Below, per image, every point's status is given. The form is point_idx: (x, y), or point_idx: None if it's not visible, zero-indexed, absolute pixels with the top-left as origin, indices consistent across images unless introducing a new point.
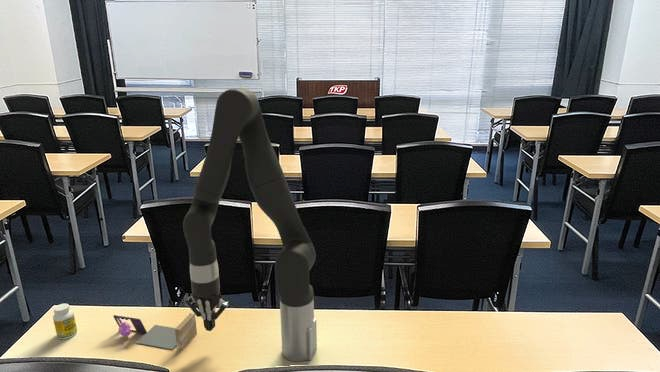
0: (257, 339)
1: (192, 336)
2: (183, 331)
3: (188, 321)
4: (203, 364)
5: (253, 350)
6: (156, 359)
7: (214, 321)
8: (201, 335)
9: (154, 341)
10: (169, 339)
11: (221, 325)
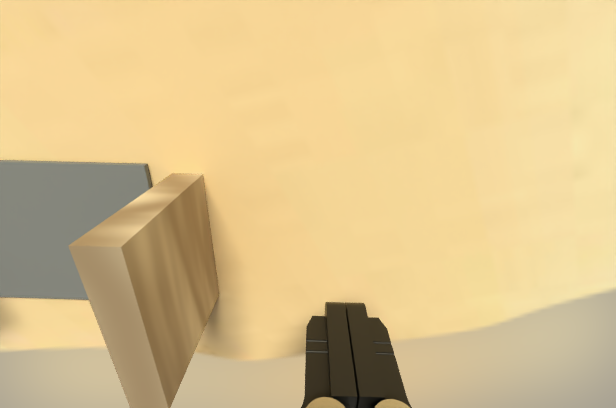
0: (581, 143)
1: (203, 222)
2: (179, 348)
3: (149, 326)
4: None
5: (561, 232)
6: None
7: (397, 375)
8: (235, 181)
9: (54, 276)
10: None
11: (301, 53)
